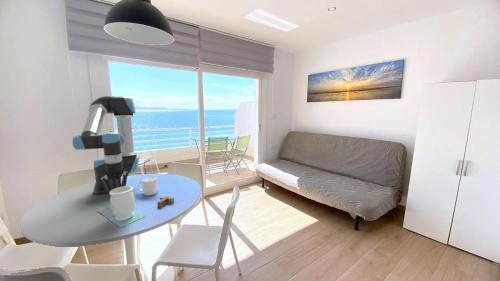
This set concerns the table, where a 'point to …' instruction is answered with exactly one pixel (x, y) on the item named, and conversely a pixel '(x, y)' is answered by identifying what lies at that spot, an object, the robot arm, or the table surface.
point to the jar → (122, 202)
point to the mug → (149, 186)
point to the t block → (165, 200)
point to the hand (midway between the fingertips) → (118, 204)
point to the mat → (111, 216)
